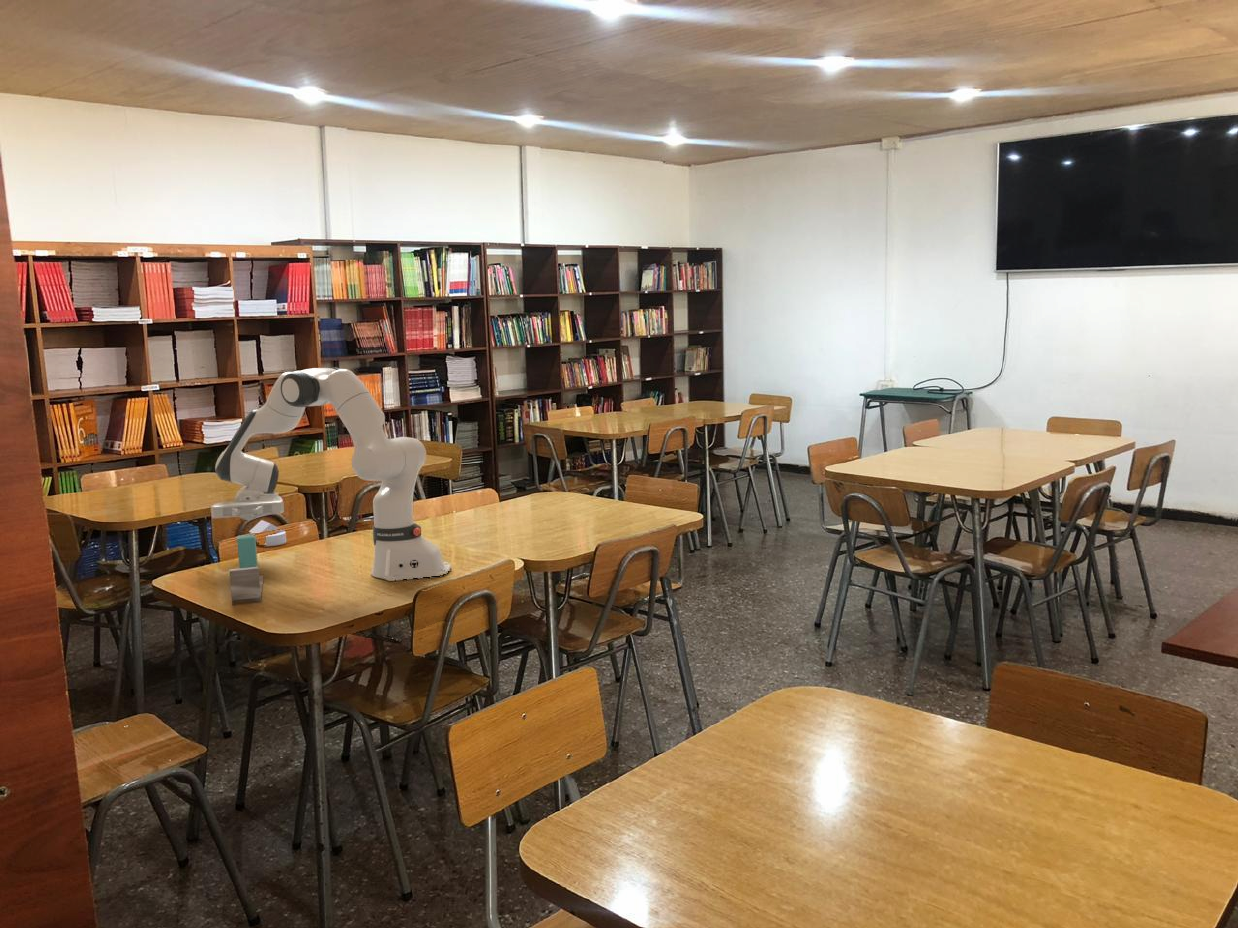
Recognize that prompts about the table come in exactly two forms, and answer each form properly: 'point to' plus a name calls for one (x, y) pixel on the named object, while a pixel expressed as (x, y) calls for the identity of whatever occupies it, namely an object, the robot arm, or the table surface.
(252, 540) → the block
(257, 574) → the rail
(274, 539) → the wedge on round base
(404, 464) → the robot arm
